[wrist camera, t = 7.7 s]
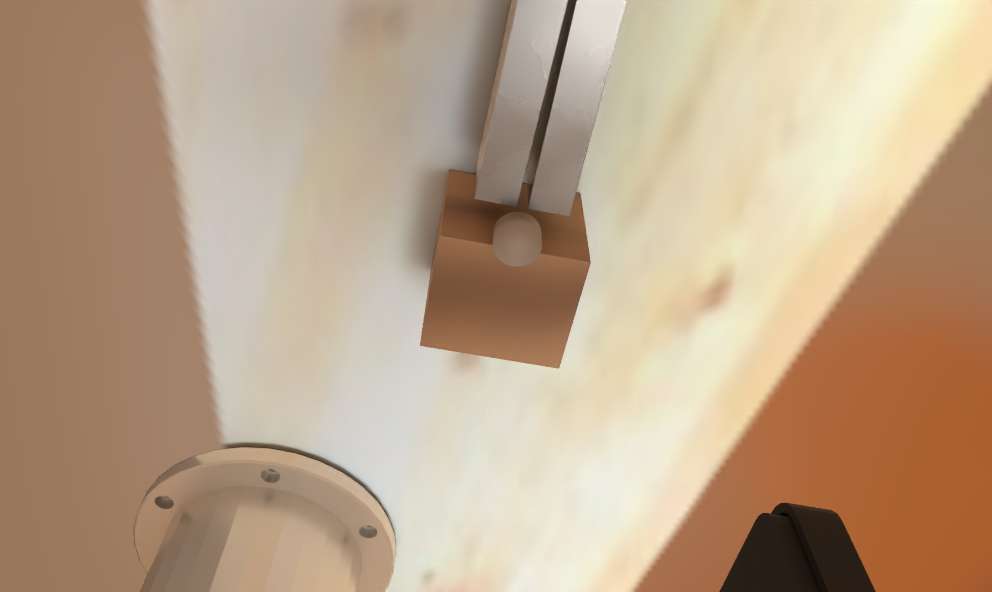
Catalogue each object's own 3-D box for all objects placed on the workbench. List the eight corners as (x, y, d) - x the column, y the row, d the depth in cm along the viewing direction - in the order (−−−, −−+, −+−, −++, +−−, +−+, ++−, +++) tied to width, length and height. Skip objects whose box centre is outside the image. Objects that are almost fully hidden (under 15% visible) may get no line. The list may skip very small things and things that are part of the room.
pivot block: (553, 292, 35) (559, 370, 31) (431, 270, 35) (419, 347, 30) (587, 169, 32) (598, 237, 28) (453, 144, 32) (444, 210, 27)
